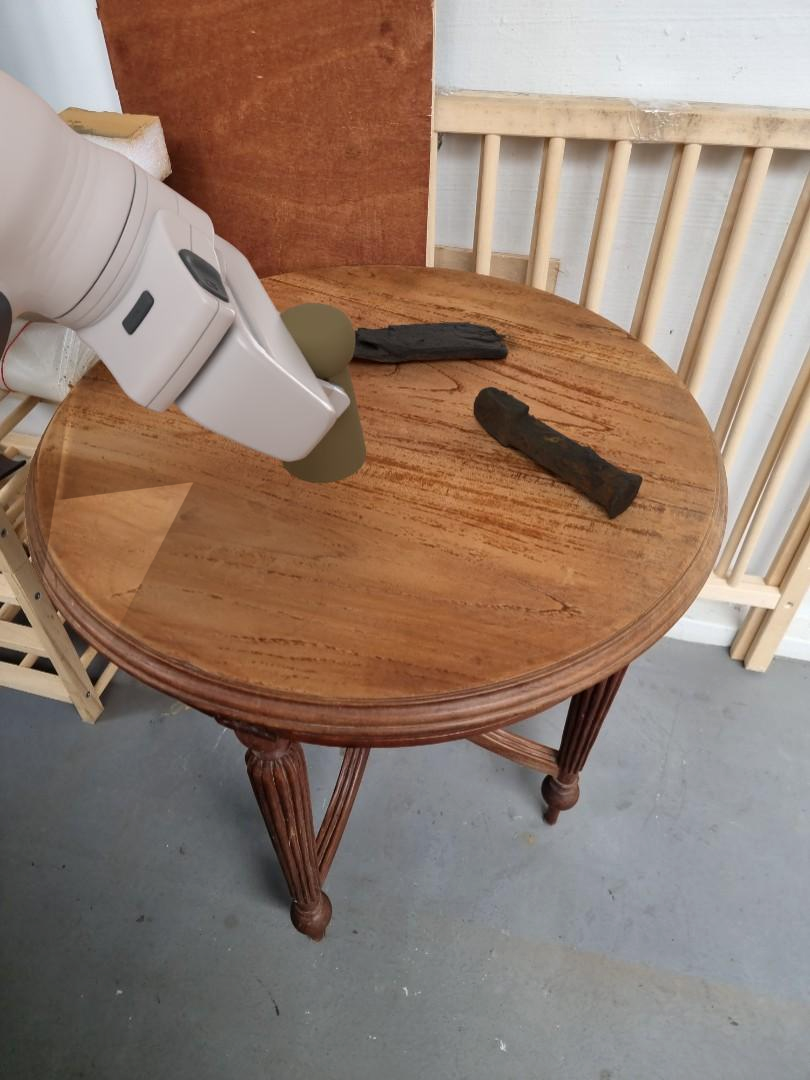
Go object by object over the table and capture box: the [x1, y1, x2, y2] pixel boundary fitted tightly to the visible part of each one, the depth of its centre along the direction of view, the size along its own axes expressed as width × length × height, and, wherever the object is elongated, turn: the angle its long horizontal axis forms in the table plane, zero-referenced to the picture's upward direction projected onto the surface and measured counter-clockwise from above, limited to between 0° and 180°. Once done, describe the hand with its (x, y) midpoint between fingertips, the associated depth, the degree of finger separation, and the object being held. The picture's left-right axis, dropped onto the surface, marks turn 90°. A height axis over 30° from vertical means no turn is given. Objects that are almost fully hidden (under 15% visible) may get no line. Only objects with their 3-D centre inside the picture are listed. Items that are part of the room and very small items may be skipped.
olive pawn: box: [280, 302, 367, 484], centre depth 51 cm, size 6×6×11 cm
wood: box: [352, 321, 509, 363], centre depth 87 cm, size 22×7×3 cm, turn 95°
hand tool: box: [472, 386, 644, 519], centre depth 73 cm, size 19×4×5 cm, turn 40°
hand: (326, 381), depth 51 cm, fingers closed on olive pawn, 4 cm apart
